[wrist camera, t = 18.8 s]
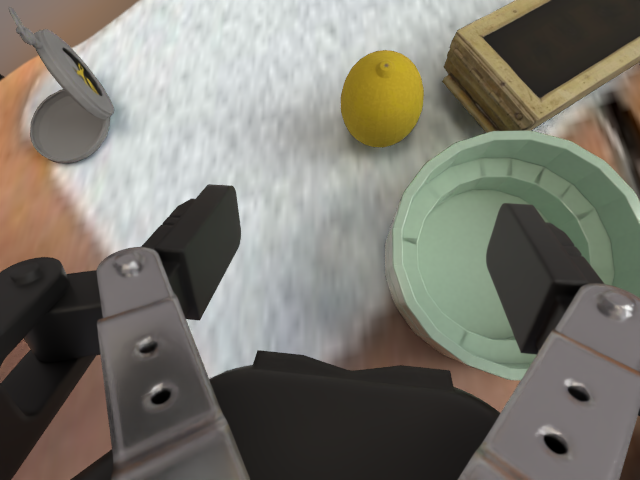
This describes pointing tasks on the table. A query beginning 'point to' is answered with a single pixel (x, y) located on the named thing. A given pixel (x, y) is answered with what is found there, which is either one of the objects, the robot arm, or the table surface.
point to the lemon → (382, 98)
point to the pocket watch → (67, 102)
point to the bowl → (476, 228)
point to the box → (540, 58)
